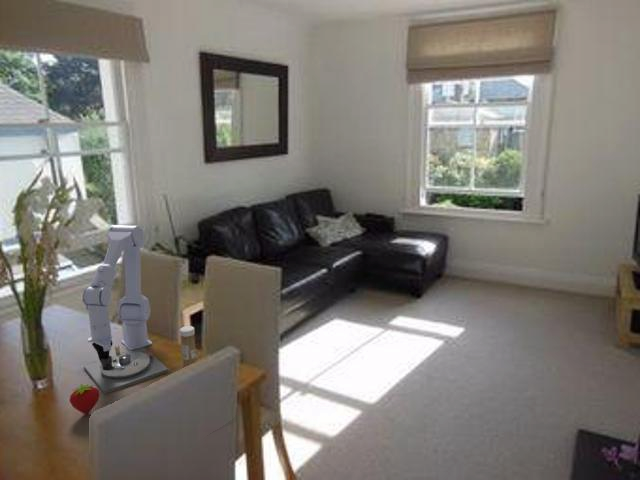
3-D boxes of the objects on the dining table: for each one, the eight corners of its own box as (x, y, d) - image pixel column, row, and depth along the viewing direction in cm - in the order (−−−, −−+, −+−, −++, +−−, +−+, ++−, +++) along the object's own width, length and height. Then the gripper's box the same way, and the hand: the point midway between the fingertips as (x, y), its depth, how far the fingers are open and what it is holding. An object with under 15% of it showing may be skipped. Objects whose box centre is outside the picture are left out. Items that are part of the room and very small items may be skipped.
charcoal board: (84, 368, 161) (83, 365, 161) (144, 349, 174) (143, 347, 174) (104, 394, 147) (104, 391, 147) (168, 371, 159) (168, 368, 159)
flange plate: (134, 350, 171) (132, 336, 170) (162, 361, 163) (161, 348, 162) (90, 369, 158) (88, 355, 157) (119, 383, 150) (117, 368, 149)
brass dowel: (115, 357, 167) (114, 346, 166) (119, 355, 168) (118, 345, 167) (116, 358, 166) (115, 347, 165) (121, 357, 167) (119, 346, 166)
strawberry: (102, 416, 136) (98, 383, 134) (72, 423, 133) (67, 390, 131) (101, 405, 141) (97, 373, 139) (72, 411, 138) (67, 379, 136)
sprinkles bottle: (198, 366, 163) (196, 329, 159) (185, 370, 160) (182, 332, 157) (194, 361, 166) (191, 324, 163) (180, 364, 164) (177, 327, 160)
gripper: (81, 318, 157) (86, 357, 161) (91, 335, 146) (96, 376, 149) (104, 313, 161) (109, 351, 165) (116, 329, 150) (120, 369, 153)
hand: (104, 362), depth 157 cm, fingers closed, pressing on flange plate
